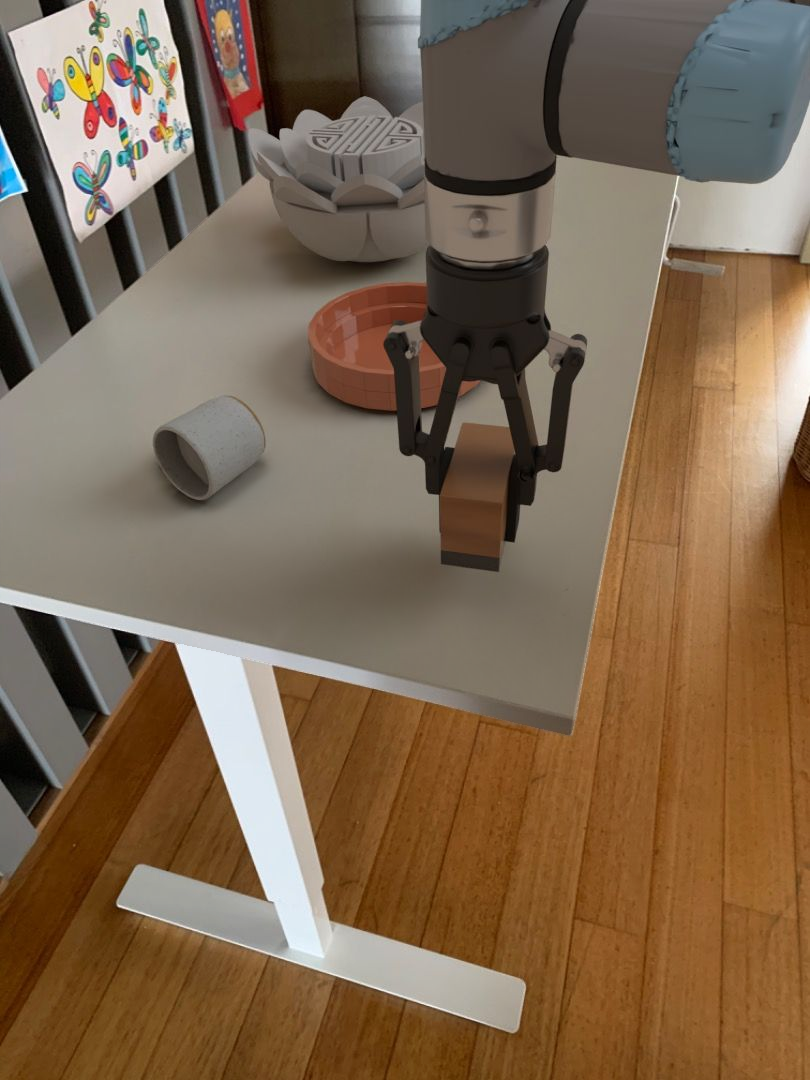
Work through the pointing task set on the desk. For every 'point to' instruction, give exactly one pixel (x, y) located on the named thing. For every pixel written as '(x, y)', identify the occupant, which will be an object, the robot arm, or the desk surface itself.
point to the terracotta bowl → (371, 346)
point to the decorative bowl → (349, 181)
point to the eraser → (476, 498)
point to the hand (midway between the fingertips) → (479, 525)
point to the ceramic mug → (209, 446)
